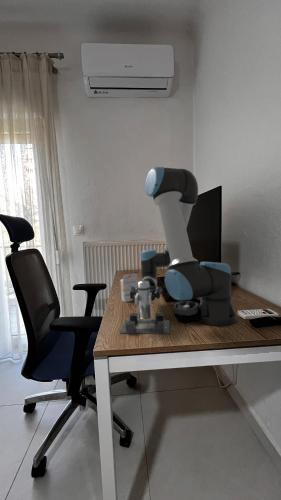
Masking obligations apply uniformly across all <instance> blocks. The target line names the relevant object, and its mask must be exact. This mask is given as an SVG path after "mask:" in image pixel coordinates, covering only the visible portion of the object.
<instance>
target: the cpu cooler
mask: <svg viewBox="0 0 281 500" xmlns="http://www.w3.org/2000/svg"><path fill="white" fill-rule="evenodd" d="M199 305H200V303H198V302H196V301H190V300H186V301H181V302H177V303H173V310H172V311H173V317H174V318H175V319H176V321H177V322H178V323H179V324H180V323H181V324H184V323H190V322H193V321H194V322H195V321H199V320H200V319H199V318H200V316H199V312H200V311H199Z"/></svg>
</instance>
